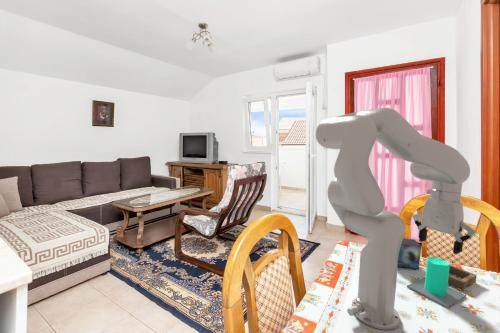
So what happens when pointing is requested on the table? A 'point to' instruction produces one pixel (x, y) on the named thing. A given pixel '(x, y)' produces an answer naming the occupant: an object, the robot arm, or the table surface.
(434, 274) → the candle
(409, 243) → the small box
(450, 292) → the slate mat
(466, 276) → the holder
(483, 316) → the table surface
